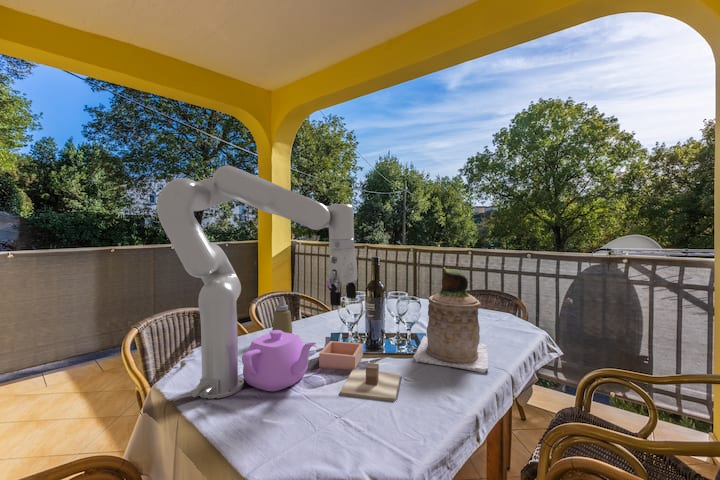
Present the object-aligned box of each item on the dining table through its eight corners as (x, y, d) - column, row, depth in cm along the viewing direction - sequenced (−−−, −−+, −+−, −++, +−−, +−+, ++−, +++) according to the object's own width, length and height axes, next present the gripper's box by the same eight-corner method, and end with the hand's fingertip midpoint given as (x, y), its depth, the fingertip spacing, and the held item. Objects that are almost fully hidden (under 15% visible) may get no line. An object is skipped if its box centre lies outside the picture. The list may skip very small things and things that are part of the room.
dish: (355, 372, 107) (355, 356, 107) (319, 368, 110) (319, 353, 109) (362, 357, 119) (363, 343, 118) (330, 354, 121) (330, 340, 121)
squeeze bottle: (290, 344, 131) (289, 298, 130) (269, 344, 131) (269, 298, 130) (294, 337, 139) (294, 294, 138) (275, 337, 139) (274, 294, 138)
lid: (394, 401, 89) (395, 379, 88) (340, 394, 92) (340, 374, 92) (400, 376, 103) (400, 357, 103) (353, 371, 107) (353, 353, 106)
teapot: (223, 391, 94) (222, 338, 94) (276, 364, 113) (276, 320, 112) (284, 414, 83) (284, 354, 82) (332, 380, 101) (332, 331, 101)
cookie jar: (489, 375, 106) (492, 274, 104) (411, 364, 114) (413, 270, 112) (487, 347, 129) (489, 265, 128) (422, 340, 137) (423, 262, 136)
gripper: (338, 247, 92) (340, 309, 93) (365, 243, 107) (367, 296, 108) (315, 247, 95) (317, 307, 96) (344, 243, 111) (346, 294, 112)
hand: (343, 301), depth 102 cm, fingers open, 9 cm apart
